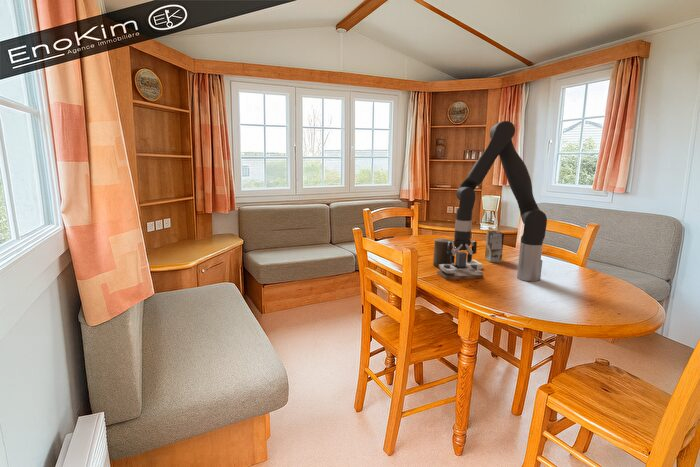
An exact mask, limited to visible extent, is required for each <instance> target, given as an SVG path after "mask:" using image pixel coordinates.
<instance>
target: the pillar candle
mask: <svg viewBox="0 0 700 467" xmlns="http://www.w3.org/2000/svg"><path fill="white" fill-rule="evenodd" d="M448 241H450V242H454V240H453V239H451V238H450V239H449V238H435V239H434V246H433V247H434V248H433V260H432V261H433V262H432V264H433V266H434V267H436V268H439V267H438V266H439V264H453V263H451V261H450V255H449V254H448V253H447V243H448ZM453 247H454V245H453V246H452V249H453ZM452 249H451V251H452Z"/></svg>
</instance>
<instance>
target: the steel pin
mask: <svg viewBox="0 0 700 467" xmlns="http://www.w3.org/2000/svg"><path fill="white" fill-rule="evenodd" d="M467 255H468V252H466V251H464V250H461V251H458V252H456V254H455V262H454V264H455V267H456V268H457V269H461V268H466V260H467Z"/></svg>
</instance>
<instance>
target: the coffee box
mask: <svg viewBox="0 0 700 467" xmlns="http://www.w3.org/2000/svg"><path fill="white" fill-rule="evenodd" d="M504 238H505V233H504V232H502V231H499V230H487V231H486V242H485V256H484V258H485V260H487V261H488V262H489V263H502V259H503V249H504V241H505V240H504Z"/></svg>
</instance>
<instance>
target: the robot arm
mask: <svg viewBox="0 0 700 467" xmlns="http://www.w3.org/2000/svg"><path fill="white" fill-rule="evenodd" d="M515 133H516V128H515V125H514V124H513V122H511V121H510V120H503V121H500V122H498V123H495V124H494V125H493V126H492V127H491V128H490V132H489V136H490V137H489V138H490V141H489V143H488V145H487V147H486V148H485V150H484V151H483V152H482V154H481V155H480V156H479V157H478V159H477V160H476V162H475V163H473V166H472V168H471V169H470V171H469V173H468V175H467V177H465V179H464V180H463V181H462V182H461V184H460V186H458V188H457V190H456V194H455V195H456V198H457V199H458V200H459V205H458V207H457V209H456V212H455V213H456V214H455V215H456V218H455V223H454V238H453V239H454V240H453V241H454V242H450V241H448V243H447V253H448V254H449V255H450V261H451V263H452V264H455V260H456V252H462V251H463V252H466V253H467V257H466V260H467V262H469V263H470V262H471V261H472V260H473V255H475V254H477V249H478V248H477V247H478V245H477V243H478V242H477V241H475V240H472V229H473V228H472V227H473V225H472V224H473V222H472V220H473V209H474V206H475V201H476V191H475V189H476V188H477V187H478V186H479V185H481V184H482V183H483V181H484V180H485V178H486V176H487V175H488V173H489V171H490V170H491V168H492V166H493V164H494V163H495V161H496V160H497V158H498V157H499V159H500V162H501V166H502V169H503V171H504V173H505V177H506V181H507V183H508V184H509V187H510V189H511V191H512V194H513V196H514V198H515V200H516V202H517V205H518V210H519V213H520V218H521V221H522V223H523V232H522V235H521V237H520V246H519V255H518V264H517V272H516V273H517V274H516V277H517V278H516V279H519V280H521V281H524V282H525V281H526V282H537V281H539V280H540V281H541V277H542V269H543V260H542V254H543V253H542V251H543V243H544V239H545V236H546V231H547V226H548V225H547V224H548V218H547V217H548V216H547V215H546V213H545V212H544V211H542V210H541V209H540V207H539V206H538V204H537V201H536V199H535V196H534V192H533V184H532V178H531V175H530V173H529V170H528V167H527V165H526V164H525V162H524V161H523V159H522V158H521V156H520V154H518V152H517V151H516V149H515V146H514V143H513V140H512V139H513V137H514V136H515ZM452 246H453V249H452ZM470 246H471V247H470ZM451 249H452V251H451Z"/></svg>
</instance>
